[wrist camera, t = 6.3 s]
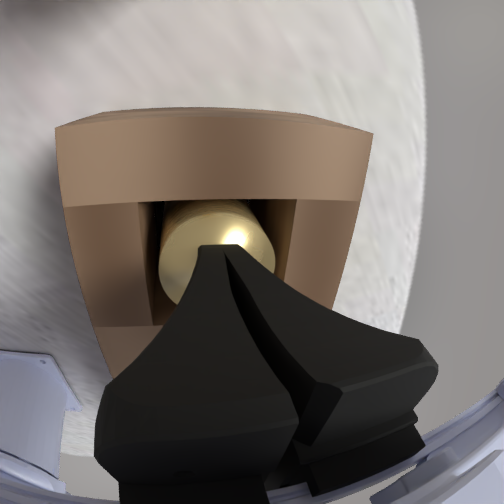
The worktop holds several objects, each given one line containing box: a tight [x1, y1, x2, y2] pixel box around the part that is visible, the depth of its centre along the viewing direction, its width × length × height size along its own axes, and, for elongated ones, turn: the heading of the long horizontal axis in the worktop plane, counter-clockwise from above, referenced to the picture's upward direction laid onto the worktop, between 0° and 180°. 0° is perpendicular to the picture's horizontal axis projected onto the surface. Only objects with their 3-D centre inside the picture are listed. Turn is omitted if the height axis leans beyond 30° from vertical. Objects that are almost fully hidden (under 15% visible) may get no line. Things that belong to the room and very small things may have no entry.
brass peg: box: [159, 199, 275, 305], centre depth 12 cm, size 4×4×6 cm
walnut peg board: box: [55, 107, 373, 379], centre depth 16 cm, size 10×22×6 cm, turn 175°
